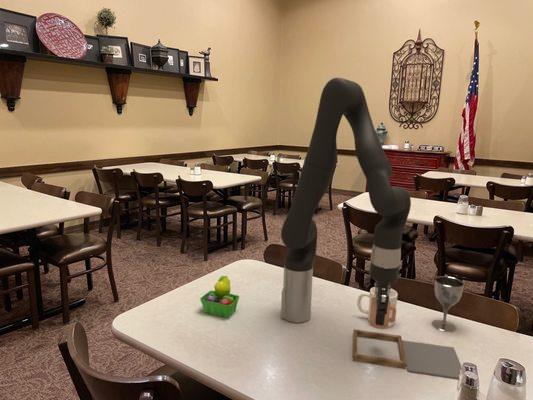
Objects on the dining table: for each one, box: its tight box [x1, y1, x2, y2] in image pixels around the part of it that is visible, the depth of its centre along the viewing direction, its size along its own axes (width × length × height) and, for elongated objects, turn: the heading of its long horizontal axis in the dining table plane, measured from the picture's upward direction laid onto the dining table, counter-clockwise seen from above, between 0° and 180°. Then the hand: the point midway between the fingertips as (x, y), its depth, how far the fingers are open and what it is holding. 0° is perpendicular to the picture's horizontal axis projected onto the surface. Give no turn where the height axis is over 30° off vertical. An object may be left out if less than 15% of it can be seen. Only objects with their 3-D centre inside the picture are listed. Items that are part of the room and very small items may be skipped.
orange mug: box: [368, 297, 397, 330], centre depth 106 cm, size 7×5×7 cm
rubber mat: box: [402, 339, 463, 380], centre depth 105 cm, size 14×14×1 cm
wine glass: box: [431, 275, 465, 333], centre depth 121 cm, size 8×8×15 cm
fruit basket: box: [199, 275, 240, 318], centre depth 128 cm, size 11×9×11 cm
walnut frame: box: [352, 328, 407, 370], centre depth 109 cm, size 14×14×2 cm
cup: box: [356, 286, 399, 328], centre depth 124 cm, size 8×12×10 cm
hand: (379, 319), depth 107 cm, fingers closed on orange mug, 5 cm apart
